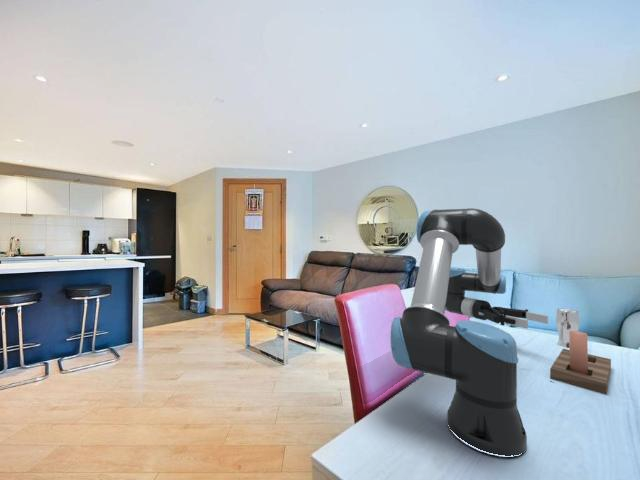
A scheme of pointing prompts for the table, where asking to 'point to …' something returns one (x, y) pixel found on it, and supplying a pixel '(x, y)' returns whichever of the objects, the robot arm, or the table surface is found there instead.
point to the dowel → (578, 352)
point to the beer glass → (566, 325)
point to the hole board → (592, 381)
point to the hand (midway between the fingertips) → (537, 321)
